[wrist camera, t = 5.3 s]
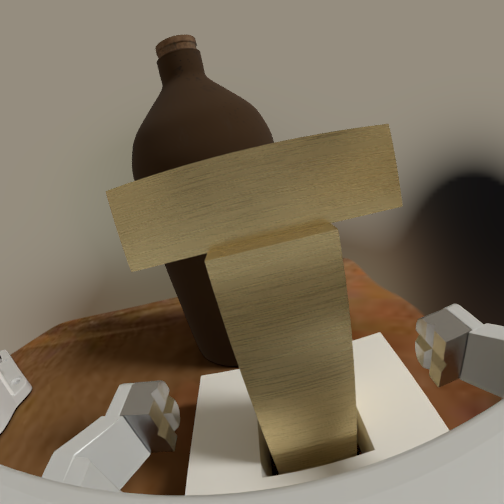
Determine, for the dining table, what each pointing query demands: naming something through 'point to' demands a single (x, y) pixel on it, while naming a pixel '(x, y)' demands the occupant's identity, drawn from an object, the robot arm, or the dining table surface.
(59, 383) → the dining table surface
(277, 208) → the t key
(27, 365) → the dining table surface
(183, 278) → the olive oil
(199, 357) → the dining table surface
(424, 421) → the socket block
